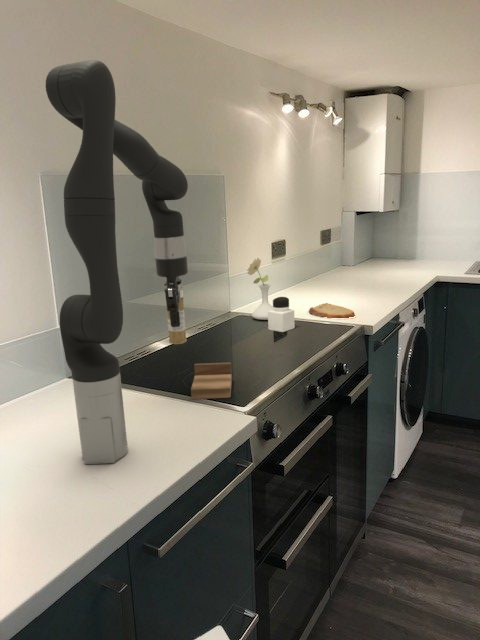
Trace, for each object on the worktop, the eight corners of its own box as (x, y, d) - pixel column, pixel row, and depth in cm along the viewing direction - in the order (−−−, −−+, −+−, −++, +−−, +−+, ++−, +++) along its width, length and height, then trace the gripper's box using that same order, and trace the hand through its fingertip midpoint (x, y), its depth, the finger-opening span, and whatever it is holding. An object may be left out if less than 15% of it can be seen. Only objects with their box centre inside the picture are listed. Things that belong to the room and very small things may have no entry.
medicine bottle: (294, 328, 202) (294, 296, 199) (283, 332, 197) (282, 300, 194) (280, 325, 207) (279, 294, 204) (268, 329, 202) (266, 298, 199)
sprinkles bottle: (169, 340, 138) (164, 288, 134) (187, 338, 138) (183, 287, 135) (168, 345, 133) (164, 292, 130) (187, 344, 134) (183, 290, 130)
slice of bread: (356, 319, 212) (357, 310, 211) (310, 320, 214) (310, 311, 213) (350, 309, 230) (350, 300, 229) (308, 310, 231) (308, 302, 230)
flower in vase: (268, 313, 227) (266, 254, 221) (285, 318, 218) (283, 256, 212) (242, 319, 220) (240, 257, 214) (259, 324, 211) (256, 260, 205)
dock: (230, 397, 138) (229, 377, 137) (191, 399, 139) (190, 378, 137) (231, 381, 150) (230, 362, 149) (195, 382, 150) (194, 363, 149)
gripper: (183, 258, 123) (189, 331, 128) (189, 250, 137) (194, 315, 141) (150, 260, 123) (157, 332, 128) (159, 252, 137) (165, 317, 142)
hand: (176, 323), depth 135 cm, fingers closed on sprinkles bottle, 4 cm apart
